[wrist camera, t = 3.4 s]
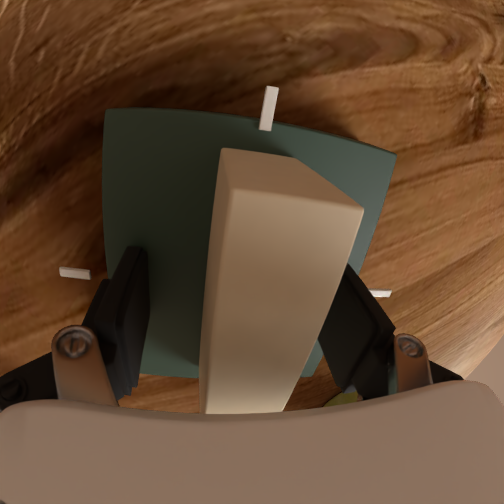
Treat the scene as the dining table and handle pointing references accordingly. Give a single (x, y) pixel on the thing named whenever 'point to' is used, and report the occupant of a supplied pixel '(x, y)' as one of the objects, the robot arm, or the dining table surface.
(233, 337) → the beige rectangular block
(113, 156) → the dial base
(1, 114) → the dining table surface
